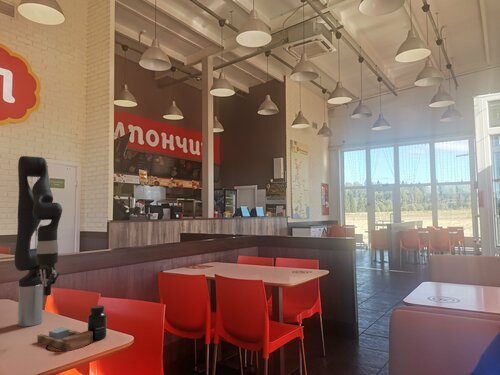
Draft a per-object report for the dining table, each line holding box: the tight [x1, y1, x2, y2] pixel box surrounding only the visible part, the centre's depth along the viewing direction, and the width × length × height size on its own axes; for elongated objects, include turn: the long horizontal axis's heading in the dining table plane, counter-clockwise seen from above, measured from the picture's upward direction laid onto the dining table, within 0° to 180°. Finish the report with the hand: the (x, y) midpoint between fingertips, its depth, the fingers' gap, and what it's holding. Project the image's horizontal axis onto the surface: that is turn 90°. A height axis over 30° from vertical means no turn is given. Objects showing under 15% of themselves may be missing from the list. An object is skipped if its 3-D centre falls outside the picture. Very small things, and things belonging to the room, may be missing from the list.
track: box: [37, 329, 94, 352], centre depth 140 cm, size 20×10×4 cm, turn 58°
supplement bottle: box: [87, 304, 108, 342], centre depth 144 cm, size 7×7×12 cm
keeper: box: [48, 327, 70, 340], centre depth 142 cm, size 5×5×4 cm
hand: (47, 295), depth 147 cm, fingers closed
